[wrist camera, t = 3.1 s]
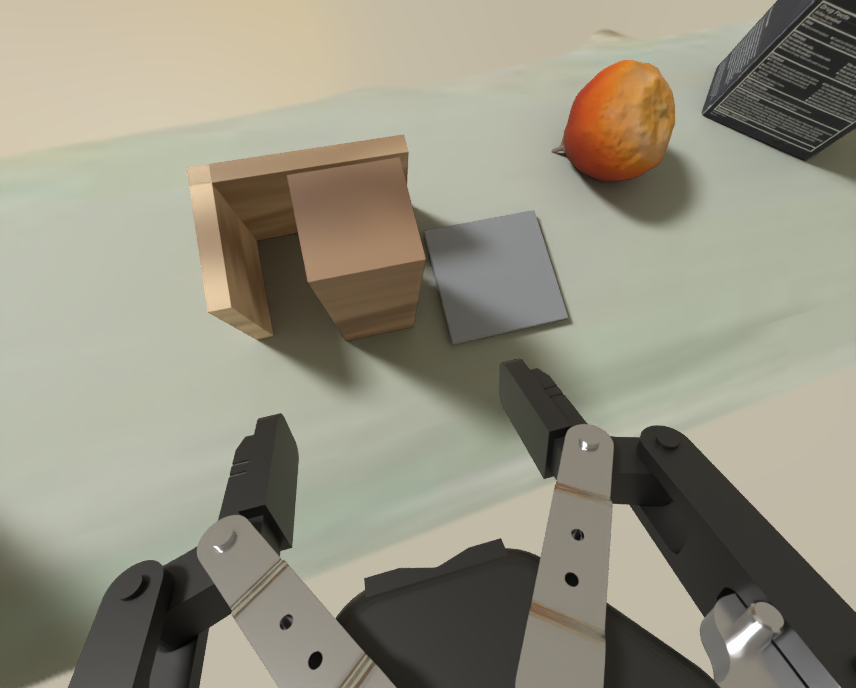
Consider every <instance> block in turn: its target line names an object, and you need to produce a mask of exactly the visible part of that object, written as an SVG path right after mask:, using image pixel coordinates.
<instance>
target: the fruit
mask: <svg viewBox="0 0 856 688" xmlns="http://www.w3.org/2000/svg"><path fill="white" fill-rule="evenodd" d="M674 125H675V105H674V99H673V94H672V91H671V89H670V87H669V85H668V83H667V82H666V80H665V79H664V78H663V77H662V75H661V73H660V71H659V69H658V68H657V67H655V66H653V65H651V64H649V63H642V62H638V61H633V60H624V61H620V62H617V63H615V64H613V65H611V66H609V67H607V68H605V69H604V70H602V71H601V72H599V73H598V74H597V75H596V76H595V77H594V78H593V79H592V80H591V81H590V82H589V83H588V84H587V85H586V86H585V87H584V88H583V89H582V90H581V91H580V92H579V93H578V95H577V96H576V98H575V100H574V102H573V105H572V108H571V111H570V115H569V119H568V123H567V126H566V128H565V131H564V136H563V140H562V143H561V145H560V146H559V147H558V148H555V149H553V150H552V153H554V152H558V151H564V152H565V153H566V156H567V158H568V159H569V160H570V161H571V162H572V164H573V165H574V166H575V167H576V168H577V169H578V170H579V171H581V172H582V173H584V174H586V175H589V176H591V177H593V178H595V179H596V180H598V181H601V182H613V181H622V180H626V179H631V178H635V177H638V176H640V175H642V174H643V173H645V172H646V171H648V170H650V169H651V168H654V167H656V166H657V165H658V164H659V163H660V162H661V160H662V158H663V155H664V153H665V151H666V149H667V146H668V143H669V140H670V137H671V134H672V130H673V127H674Z"/></svg>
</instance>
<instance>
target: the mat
mask: <svg viewBox="0 0 856 688" xmlns="http://www.w3.org/2000/svg"><path fill="white" fill-rule="evenodd" d="M424 238H425V241H426V245H427V249H428V253H429V257H430V261H431V265H432V269H433V272H434V276H435V280H436V284H437V288H438V292H439V296H440V299H441V303H442V307H443V311H444V315H445V319H446V323H447V326H448V330H449V334H450V338H451V342H452V345H454V344H459V343H463V342H468V341H472V340H477V339H481V338H485V337H490V336H494V335H499V334H503V333H507V332H512V331H516V330H521V329H525V328H529V327H534V326H538V325H543V324H547V323H552V322H556V321H560V320H565V319H567V318H568V315H567V312H566V309H565V305H564V302H563V299H562V296H561V293H560V290H559V287H558V283H557V280H556V277H555V274H554V271H553V268H552V265H551V261H550V258H549V255H548V252H547V249H546V246H545V243H544V239H543V236H542V233H541V230H540V227H539V224H538V221H537V217H536V214H535V211H534V210H533V211H528V212H522V213H517V214H511V215H506V216H501V217H495V218H490V219H484V220H479V221H474V222H468V223H463V224H457V225H452V226H447V227H441V228H436V229H430V230H425V231H424Z"/></svg>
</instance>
